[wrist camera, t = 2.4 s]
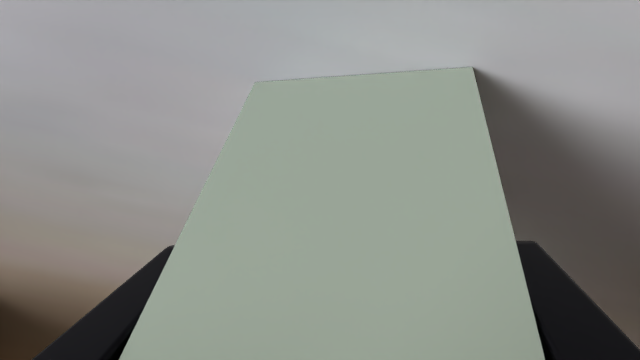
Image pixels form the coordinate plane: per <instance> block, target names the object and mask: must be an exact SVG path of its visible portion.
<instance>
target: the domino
mask: <svg viewBox="0 0 640 360" xmlns="http://www.w3.org/2000/svg"><path fill="white" fill-rule="evenodd" d="M119 360H545V357H544V353H543V349H542V345H541V341H540V337H539V333H538V329H537V325H536V321H535V317H534V313H533V309H532V305H531V301H530V297H529V293H528V289H527V285H526V281H525V277H524V273H523V269H522V265H521V260H520V256H519V252H518V248H517V244H516V240H515V236H514V232H513V228H512V224H511V220H510V216H509V212H508V208H507V204H506V200H505V196H504V192H503V188H502V184H501V180H500V176H499V172H498V168H497V164H496V160H495V156H494V152H493V148H492V144H491V140H490V136H489V132H488V128H487V124H486V120H485V115H484V111H483V107H482V103H481V99H480V95H479V91H478V87H477V83H476V79H475V75H474V71H473V67H466V68H452V69H438V70H423V71H409V72H395V73H380V74H366V75H352V76H337V77H323V78H309V79H295V80H280V81H266V82H255V83H254V85H253V87H252V90H251V92H250V94H249V96H248V98H247V100H246V102H245V104H244V106H243V108H242V110H241V112H240V114H239V116H238V118H237V120H236V122H235V124H234V126H233V128H232V130H231V132H230V134H229V136H228V138H227V140H226V142H225V145H224V147H223V149H222V151H221V153H220V155H219V157H218V159H217V161H216V163H215V165H214V167H213V169H212V171H211V173H210V175H209V177H208V179H207V181H206V183H205V185H204V187H203V189H202V191H201V193H200V195H199V197H198V200H197V202H196V204H195V206H194V208H193V210H192V212H191V214H190V216H189V218H188V220H187V222H186V224H185V226H184V228H183V230H182V232H181V234H180V236H179V238H178V240H177V242H176V244H175V246H174V248H173V250H172V252H171V255H170V257H169V259H168V261H167V263H166V265H165V267H164V269H163V271H162V273H161V275H160V277H159V279H158V281H157V283H156V285H155V287H154V289H153V291H152V293H151V295H150V297H149V299H148V301H147V303H146V305H145V307H144V310H143V312H142V314H141V316H140V318H139V320H138V322H137V324H136V326H135V328H134V330H133V332H132V334H131V336H130V338H129V340H128V342H127V344H126V346H125V348H124V350H123V352H122V354H121V356H120V358H119Z"/></svg>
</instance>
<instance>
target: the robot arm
mask: <svg viewBox="0 0 640 360" xmlns="http://www.w3.org/2000/svg"><path fill="white" fill-rule="evenodd" d="M516 244H517V248H518V252H519V256H520V260H521V265H522V269H523V273H524V277H525V281H526V285H527V289H528V293H529V297H530V301H531V305H532V309H533V313H534V317H535V321H536V325H537V329H538V333H539V337H540V341H541V345H542V349H543V353H544V357H545V360H640V349H639V348H638V347H637V346H636V345H635V344H634V343H633V342H632V341H631V340H630V339H629V338H628V337H627V336H626V335H625V334H624V333H623V332H622V331H621V330H620V329H619V328H618V326H617V325H616V324H615V323H614V322H613V321H612V320H611V319H610V318H609V317H608V316H607V315H606V314H605V313H604V312H603V311H602V310H601V309H600V308H599V307H598V306H597V305H596V304H595V303H594V302H593V301H592V300H591V299H590V297H589V296H588V295H587V294H586V293H585V292H584V291H583V290H582V289H581V288H580V287H579V286H578V285H577V284H576V283H575V282H574V281H573V280H572V279H571V278H570V277H569V276H568V275H567V274H566V273H565V272H564V271H563V270H562V268H561V267H560V266H559V265H558V264H557V263H556V262H555V261H554V260H553V259H552V258H551V257H550V256H549V255H548V254H547V253H546V252H545V251H544V250H543V249H542V248H541V247H540V246H539V245H538V244H537V243H536V242H533V241H516ZM174 246H175V245H172V246H169V247H167V248H166V249H164V250H163V251H162V252H161V253H159V254H158V255H157V256H156V257H155V258H153V259H152V260H151V261H150V262H149V263H147V264H146V265H145V266H144V267H143V268H141V269H140V270H139V271H138V272H137V273H135V274H134V275H133V276H132V277H131V278H129V279H128V280H127V281H126V282H125V283H123V284H122V285H121V286H120V287H119V288H117V289H116V290H115V291H114V292H113V293H111V294H110V295H109V296H108V297H107V298H105V299H104V300H103V301H102V302H101V303H99V304H98V305H97V306H96V307H95V308H93V309H92V310H91V311H90V312H89V313H87V314H86V315H85V316H84V317H83V318H81V319H80V320H79V321H78V322H77V323H75V324H74V325H73V326H72V327H71V328H69V329H68V330H67V331H66V332H64V333H63V334H62V335H61V336H60V337H58V338H57V339H56V340H55V341H54V342H52V343H51V344H50V345H49V346H48V347H46V348H45V349H44V350H43V351H42V352H40V353H39V354H38V355H37V356H36V357H34V358H33V359H32V360H119V358H120V356H121V354H122V352H123V350H124V348H125V346H126V344H127V342H128V340H129V338H130V336H131V334H132V332H133V330H134V328H135V326H136V324H137V322H138V320H139V318H140V316H141V314H142V312H143V310H144V307H145V305H146V303H147V301H148V299H149V297H150V295H151V293H152V291H153V289H154V287H155V285H156V283H157V281H158V279H159V277H160V275H161V273H162V271H163V269H164V267H165V265H166V263H167V261H168V259H169V257H170V255H171V252H172V250H173V248H174Z"/></svg>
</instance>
